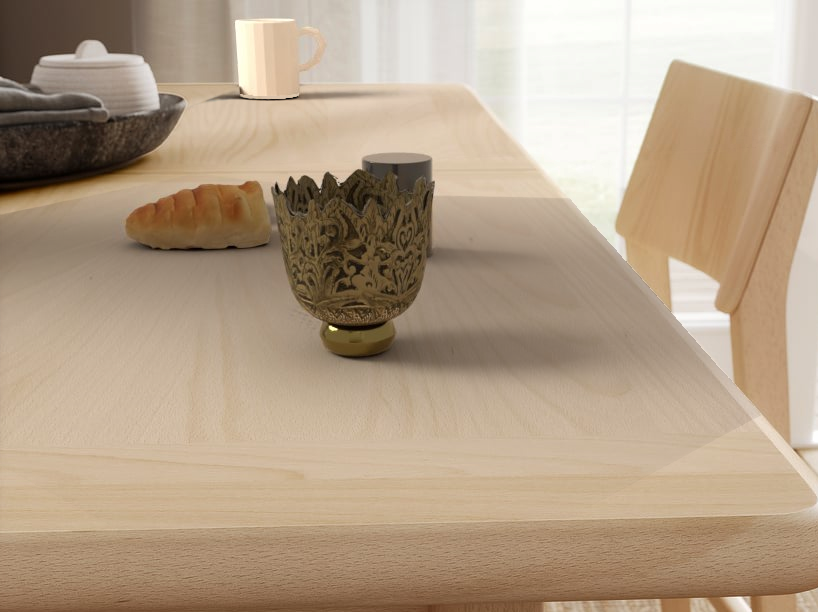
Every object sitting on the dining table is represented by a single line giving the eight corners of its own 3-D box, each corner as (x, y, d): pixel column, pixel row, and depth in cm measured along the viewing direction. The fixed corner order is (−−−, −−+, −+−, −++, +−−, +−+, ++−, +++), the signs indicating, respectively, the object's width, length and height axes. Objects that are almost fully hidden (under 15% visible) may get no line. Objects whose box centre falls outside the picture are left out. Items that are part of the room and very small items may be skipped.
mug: (331, 98, 157) (329, 20, 153) (241, 100, 155) (236, 21, 151) (325, 92, 164) (322, 18, 160) (239, 94, 162) (234, 18, 158)
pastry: (131, 257, 74) (124, 196, 72) (123, 236, 80) (117, 179, 78) (279, 246, 77) (275, 187, 75) (260, 226, 83) (257, 171, 81)
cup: (249, 349, 56) (237, 182, 53) (360, 317, 61) (355, 163, 58) (355, 385, 52) (349, 204, 49) (466, 347, 57) (467, 181, 54)
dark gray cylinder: (358, 260, 73) (355, 162, 71) (370, 244, 77) (368, 151, 75) (428, 261, 73) (427, 164, 71) (436, 246, 77) (436, 152, 75)
